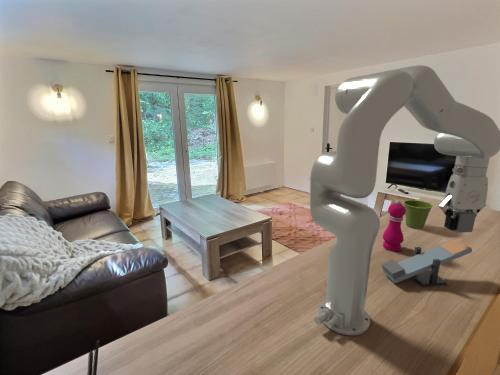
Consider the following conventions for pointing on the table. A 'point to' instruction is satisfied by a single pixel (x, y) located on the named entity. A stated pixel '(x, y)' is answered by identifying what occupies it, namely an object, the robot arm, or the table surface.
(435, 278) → the stand
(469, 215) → the iron block
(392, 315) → the table surface
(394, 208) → the pepper mill
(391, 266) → the beam
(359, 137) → the robot arm
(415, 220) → the plant pot
